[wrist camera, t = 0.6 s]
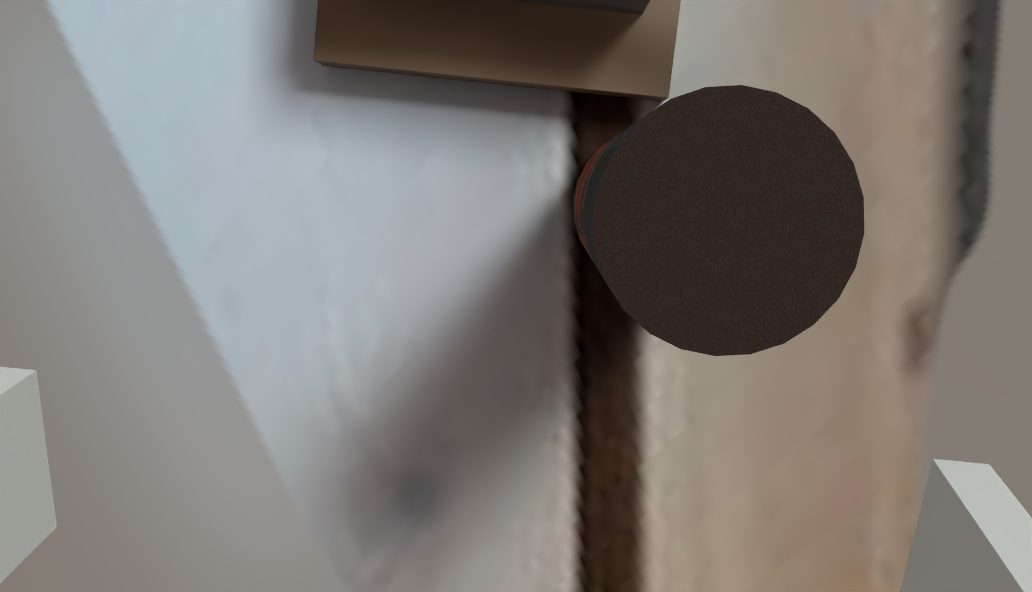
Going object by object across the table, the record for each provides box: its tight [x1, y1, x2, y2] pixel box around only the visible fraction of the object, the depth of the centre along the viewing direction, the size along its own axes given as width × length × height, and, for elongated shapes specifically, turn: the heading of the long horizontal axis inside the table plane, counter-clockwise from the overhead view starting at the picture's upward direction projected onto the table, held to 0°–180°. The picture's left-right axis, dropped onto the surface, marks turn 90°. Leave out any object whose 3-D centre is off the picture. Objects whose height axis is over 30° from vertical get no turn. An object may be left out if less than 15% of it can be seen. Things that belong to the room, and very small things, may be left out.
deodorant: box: [573, 85, 864, 356], centre depth 27 cm, size 6×6×15 cm
